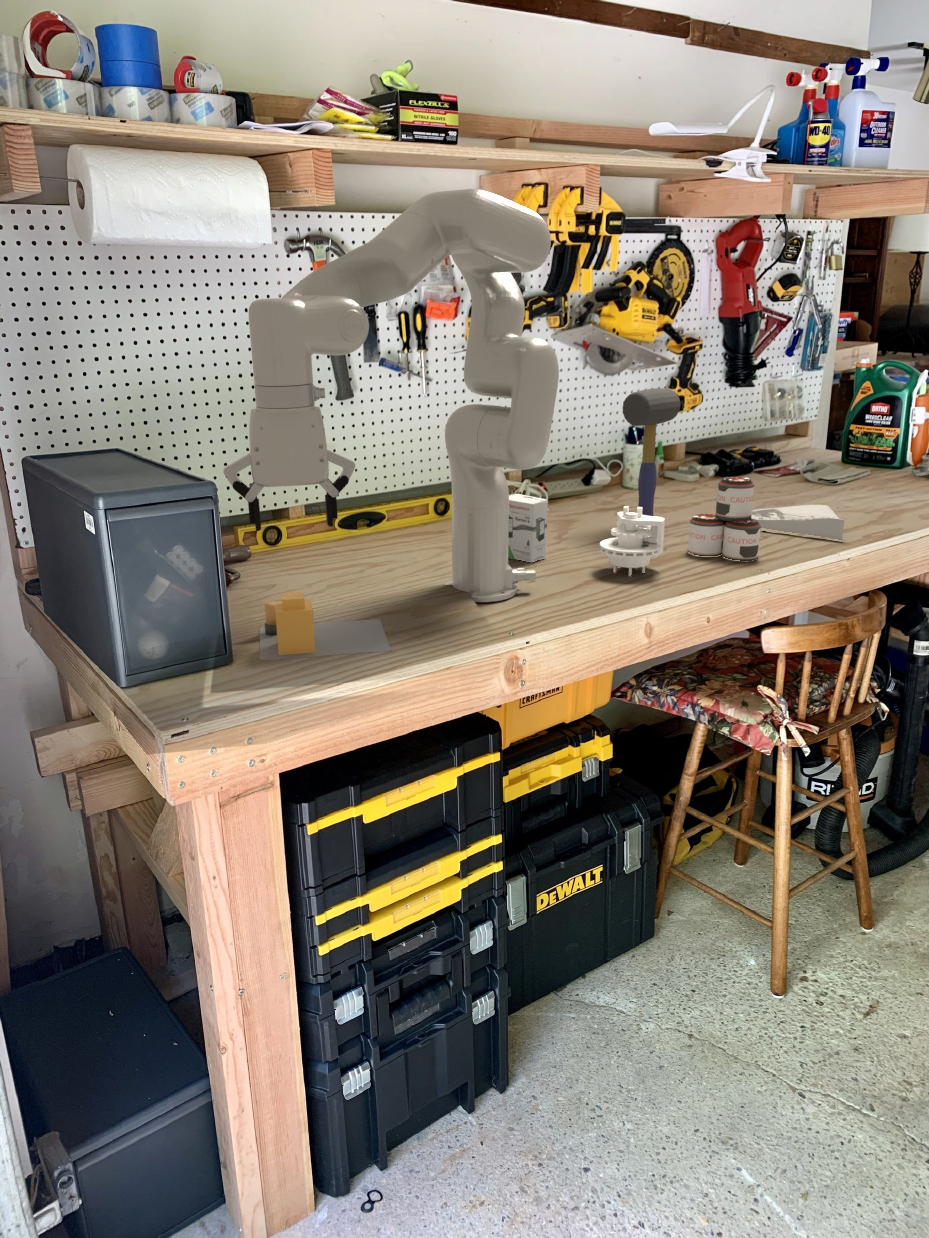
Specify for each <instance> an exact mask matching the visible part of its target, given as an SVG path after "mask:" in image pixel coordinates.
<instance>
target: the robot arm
mask: <svg viewBox="0 0 929 1238" xmlns="http://www.w3.org/2000/svg"><path fill="white" fill-rule="evenodd" d="M551 241H552V239H551V233H550V230H549V227H548V224H547V223H546V221H545V219H544V218H542V216H541V215H540V214H538V213H537V212H536V211H534V210H532V209H530V208H528V207H525V206H524V205H520V204H519V203H516V202H515V201H513V200H510V199H508V198H505V197H503V196H501V195H498V194H496V193H493V192H490V191H487V190H485V189H480V188H464V189H463V188H462V189H453V190H444V191H443V190H442V191H435V192H431V193H427V194H425V195H423V196H421V197H420V198H418V199H417V200H416V201H415V202H413V203H412V204H411V205H410V206H409V207H407V208H406V209H405V210H404V211H403V212H401V214H399V216H398V217H396V218H395V219H394V220H393V221H391V223H390V224H389V225H387V226H386V227H385V228H384V229H382V230H381V231H380V232H379V233H378V234H377V235H375V236H374V237H373V238H371V240H369V241H368V242H366V243H364V244H362V245H360V246H358V247H356V248H354V249H352V250H350V251H348V252H346V253H345V254H343V255H341V256H339V257H337V258H335V259H334V260H331V261H329V262H328V263H326V264H324V265H322V266H320V267H318V268H317V269H315V270H313V271H312V272H310V273H309V274H307V275H306V276H305V277H303V278H302V279H301V280H300V281H299V282H297V283H296V284H295V285H294V286H293V287H292V288H291V289H289V290H288V291H287V292H286V293H285V294H283V296H282V297H281V298H280V297H279V298H278V297H277V298H261V299H256V300H254V301H252V302H251V303H250V305H249V307H248V325H249V326H248V327H249V337H250V347H251V360H252V361H251V362H252V370H253V371H252V372H253V383H254V394H255V395H254V396H255V404H256V405H255V406H256V407H255V408H252V409H251V410H250V415H249V428H248V429H249V430H248V431H249V453H247V454H245V455H244V456H242V457H241V458H239V459H237V460H235V461H233V462H232V463H230V464H228V465H227V466H225V467H223V468H224V469H223V475H224V476H225V478H226V479H227V481H228V482H229V483H230V485H231V487H232V488H233V490H234V491H235V492H236V493H238V494H239V495H240V496H241V497H243V498H244V499H245V501H247V506H248V517H249V525H255V526H254V527H255V532H260V531H261V530H262V521H261V510H260V508H261V507H260V499H259V498H258V496H259V494H260V493H261V491H262V490H263V488H276V487H277V488H278V487H295V486H296V487H297V486H298V487H299V486H312V485H313V486H314V485H320V486H321V488H323V490H324V491H325V493H326V494H325V495H324V503H325V505H324V506H325V518H326V524H327V526H328V527H329V528H331V527H334V520H338V518H339V517H338V504H337V503H338V502H337V501H338V500H337V497H338V496H339V494H340V493H341V491H342V490H344V489H345V487H346V486H348V485H349V482H350V479H351V477H352V476H353V475H352V474H353V473H354V471H355V468H356V464H355V462H354V460H351V459H349V458H348V457H344V456H343V455H340V454H338V453H336V452H334V451H331V450H329V449H328V445H327V437H326V429H325V424H324V419H323V414H322V411H321V410H322V409H321V408H320V406H316V403H315V402H317V401H318V400H320V399H325V398H326V391H325V387H319V386H316V385H314V383H313V382H314V379H313V378H314V377H313V364H312V363H313V360H312V359H313V358H312V355H315V354H316V355H317V354H318V355H323V356H345V355H349V354H352V353H354V352H356V351H357V350H358V349H360V348H361V347H362V346H363V345H364V343H365V342H366V340H367V338H368V335H369V329H370V323H369V318H368V315H367V313H366V311H365V310H364V308H365V307H368V306H373V305H376V304H381V303H385V302H389V301H391V300H394V299H396V298H399V297H402V296H404V295H407V294H408V293H410V292H411V291H412V290H413V289H414V288H415V287H416V286H417V285H418V284H419V283H420V282H422V281H423V279H424V278H425V277H427V276H428V275H429V274H430V273H431V272H432V271H433V270H434V269H435V268H436V267H437V266H438V265H440V264H441V263H442V262H443V261H444V260H445V259H447V258H448V257H449V256H451V258H452V261H453V262H454V264H455V265H456V267H457V268H458V270H459V272H460V273H461V275H462V277H463V279H464V281H465V283H466V286H467V289H468V290H469V294H470V298H471V313H470V320H469V321H470V322H469V329H468V336H467V343H466V344H467V345H466V348H465V349H466V350H465V358H464V363H463V364H464V365H463V366H464V367H463V380H464V384H465V386H466V387H467V389H468V390H469V391H470V392H472V393H473V394H476V395H479V396H483V397H491V398H492V397H493V398H500V399H501V398H503V399H511V402H510V406H501V405H492V404H482V403H481V404H480V403H478V404H477V403H475V404H473V403H472V404H467V405H463V406H460V407H459V408H457V409H455V410H454V411H452V413H451V414H450V416H448V419H447V421H446V423H445V428H444V441H445V443H444V444H445V448H446V453H447V458H448V461H449V468H450V469H449V470H450V480H451V549H452V550H451V557H452V558H451V560H452V561H451V565H452V566H451V567H452V570H451V571H452V575H451V576H452V579H450V580H448V581H447V582H445V583H444V586H447V585H448V586H450V585H452V587H453V588H454V589H457V590H458V591H461V592H466V593H467V594H469V596H470V598H471V599H472V600H473V602H474V603H492V602H493V603H494V602H500V601H501V602H502V601H504V600H508V599H511V598H513V597H514V596H515V595H516V594H517V592H518V585H517V584H518V582H535V581H536V578H537V574H536V570H535V569H525V567H516V568H513V567H511V566H510V564H509V558H508V532H509V496H510V490H509V485H508V484H509V483H508V481H507V479H506V475H505V473H504V470H503V469H504V468H505V469H512V470H519V471H524V470H525V471H527V470H531V469H533V468H535V467H536V466H538V465H539V464H540V462H541V461H542V459H544V457H545V454H546V452H547V449H548V446H549V442H550V441H549V439H550V436H551V429H552V424H553V416H554V411H555V405H556V399H557V391H558V386H559V385H558V384H559V377H560V376H559V375H560V370H559V369H560V368H559V361H558V357H557V354H556V351H555V349H554V347H552V345H551V344H550V343H549V342H547V341H546V340H544V339H542V338H539V337H533V336H523V331H524V321H525V311H526V310H525V309H526V308H525V300H524V296H523V293H522V291H521V289H520V287H519V284H518V283H517V281H516V279H515V278H514V276H513V274H512V273H515V274H516V273H522V274H523V273H531V272H533V271H535V270H538V269H539V268H540V267H542V266H543V264H544V263H545V262H546V261H547V259H548V257H549V255H550V250H551V243H552V242H551ZM329 463H332V464H334V465H337V466H339V467H341V468H342V470H341V473H340V475H339V476H338V477H337V478H336V479H335V481H334V482H333V481H332V480H331V479H330V478H329V476H330V475H329V474H330V473H329V471H330V466H329ZM249 466H250V470H251V472H250V473H251V476H252V483H251V484H250V486H248V485H247V484H245V483H244V482H243V481H242V480H241V479H240V478H239V476H238V473H239V472H241V471H242V470H244V469H246V468H247V467H249Z"/></svg>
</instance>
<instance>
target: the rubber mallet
mask: <svg viewBox="0 0 929 1238" xmlns="http://www.w3.org/2000/svg"><path fill="white" fill-rule="evenodd" d="M680 409H681V400H680V397H679V395H678V393H676V391H674V390H673V389H671V388H666V387H665V388H663V387H661V388H658V387H657V388H646V389H642V390H639V391H634V392H631V393H630V394H628V395H627V397H625V399H624V401H623V403H622V415H623V418H624V419H625V420H626V422H627V423H629V424H630V425H632V426H636V427H641V426H642V427H643V426H644V428H643V442H642V459H641V464H640V466H639V467H640V468H639V474H638V483H637V488H638V506H637V508H638V507H643V509H642V515H647V516H654V508H655V507H654V506H655V505H654V504H655V494H656V488H657V465H656V462H655V459H656V458H655V457H656V455H655V454H656V438H657V431H656V430H657V425H659V424H660V425H661V424H663V423H666V422H669V421H672V420H674V419H675V418H676V417H677V416H678V414H679V412H680Z"/></svg>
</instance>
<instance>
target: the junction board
mask: <svg viewBox="0 0 929 1238" xmlns="http://www.w3.org/2000/svg"><path fill="white" fill-rule="evenodd" d="M264 613H265V615H264V616H265V622H264V626H261V627H259V661H274V660H275V661H276V660H287V659H301V658H303V659H304V658H314V657H330V656H340V655H341V656H342V655H354V654H357V655H358V654H366V653H369V654H370V653H380V652H392V651H393V650H392V648H391V646H390V643H389V640H388V637H387V635H386V634H387V633H386V632H385V629H384V627H383V623H382V621H381V619H380V618H379V619H375V618H374V619H362V620H360V619H359V620H347V621H332V622H317V623H314V639H315V653H301V654H287V655H279V654H278V640H277V626H276V611H275V601H267V602H265V603H264Z"/></svg>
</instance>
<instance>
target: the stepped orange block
mask: <svg viewBox="0 0 929 1238" xmlns="http://www.w3.org/2000/svg"><path fill="white" fill-rule="evenodd" d="M304 593H305V592H304V591H303V592H287V593H284V592H283V593H281V600H279V601H277V600H276V601H274V602H275V611H276V626H277V640H278V654H279V655H287V654H301V653H315V639H314V624H315V623H314V622H315V621H314V612H313V611H314V610H313V609H314V608H313V603H312V599H309V598H308V599H305V594H304Z"/></svg>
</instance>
